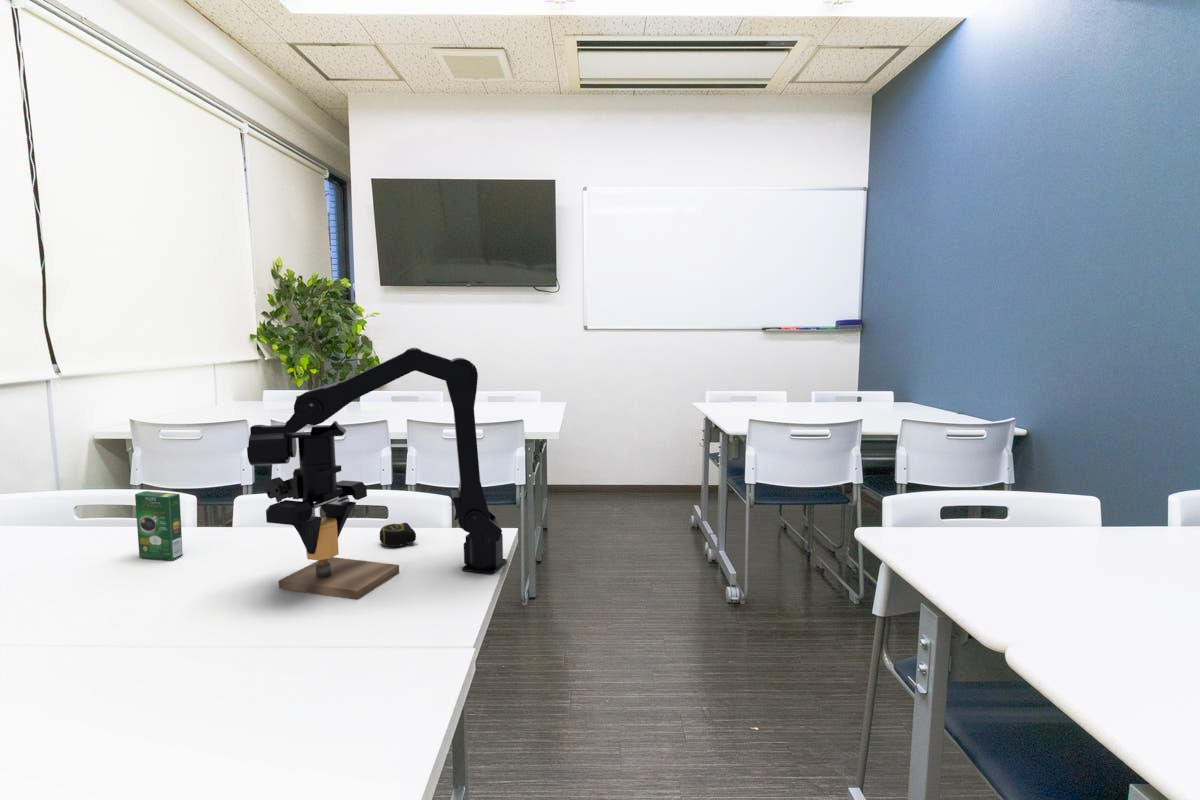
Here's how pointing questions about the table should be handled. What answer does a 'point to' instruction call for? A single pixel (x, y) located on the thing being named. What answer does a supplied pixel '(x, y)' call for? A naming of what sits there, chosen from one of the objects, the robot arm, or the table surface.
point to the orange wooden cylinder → (326, 540)
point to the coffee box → (159, 525)
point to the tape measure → (397, 534)
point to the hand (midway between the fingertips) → (322, 548)
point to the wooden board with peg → (339, 577)
